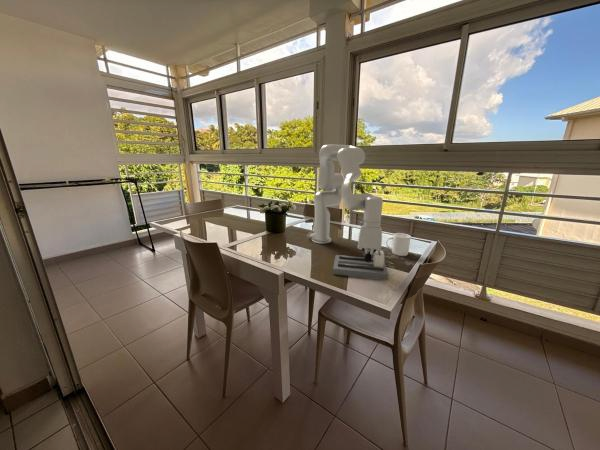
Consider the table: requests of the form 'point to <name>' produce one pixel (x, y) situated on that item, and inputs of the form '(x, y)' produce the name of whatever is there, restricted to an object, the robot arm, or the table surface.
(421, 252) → the table surface
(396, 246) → the mug
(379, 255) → the breaker toggle
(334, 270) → the breaker panel
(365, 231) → the robot arm
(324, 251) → the table surface
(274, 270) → the table surface
